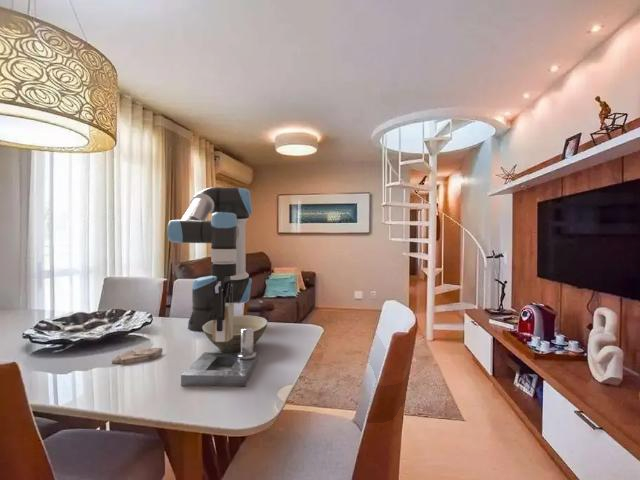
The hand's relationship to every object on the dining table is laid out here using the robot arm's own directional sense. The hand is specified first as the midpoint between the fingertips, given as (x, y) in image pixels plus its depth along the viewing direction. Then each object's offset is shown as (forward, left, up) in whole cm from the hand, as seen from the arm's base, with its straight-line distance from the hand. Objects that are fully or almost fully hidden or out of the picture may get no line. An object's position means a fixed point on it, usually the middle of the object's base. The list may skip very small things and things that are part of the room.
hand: (223, 338), depth 99 cm
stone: (-11, -33, -11) cm, 37 cm away
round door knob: (-6, +6, -11) cm, 14 cm away
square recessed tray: (0, 0, -11) cm, 11 cm away
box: (0, 0, -1) cm, 1 cm away
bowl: (-22, -2, -11) cm, 25 cm away
